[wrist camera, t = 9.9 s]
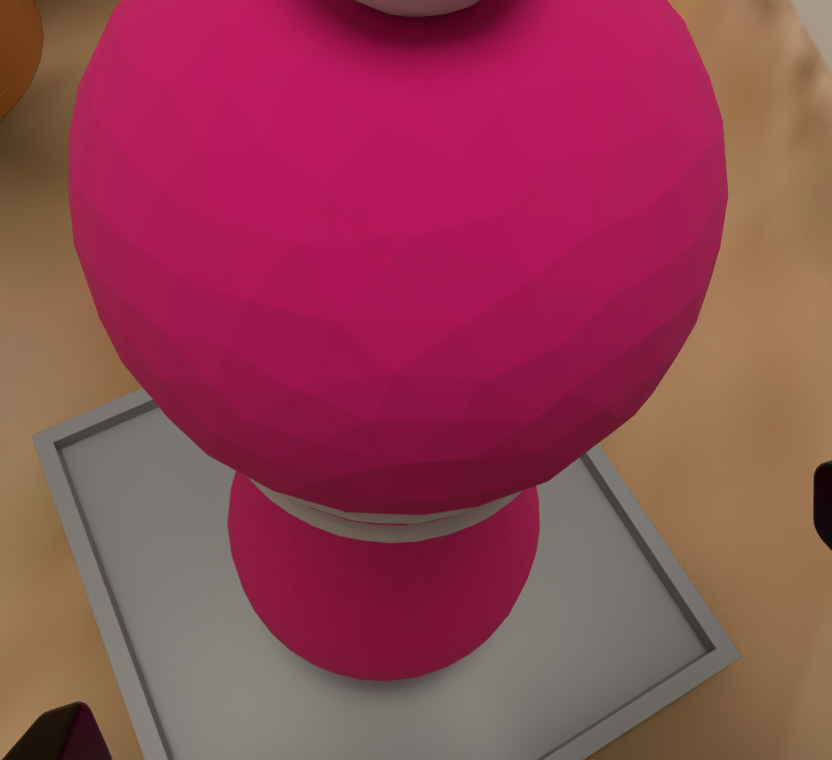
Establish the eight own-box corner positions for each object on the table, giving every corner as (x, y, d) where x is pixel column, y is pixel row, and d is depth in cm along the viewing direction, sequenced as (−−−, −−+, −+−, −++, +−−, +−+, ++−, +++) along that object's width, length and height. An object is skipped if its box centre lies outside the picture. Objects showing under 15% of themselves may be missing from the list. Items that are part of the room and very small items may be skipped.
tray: (726, 659, 21) (741, 656, 20) (233, 979, 18) (225, 992, 17) (464, 266, 27) (467, 249, 26) (44, 447, 23) (31, 435, 22)
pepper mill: (389, 396, 24) (438, -656, 6) (557, 563, 22) (1424, -266, 4) (205, 550, 21) (-676, -430, 3) (374, 754, 19) (384, 955, 1)
